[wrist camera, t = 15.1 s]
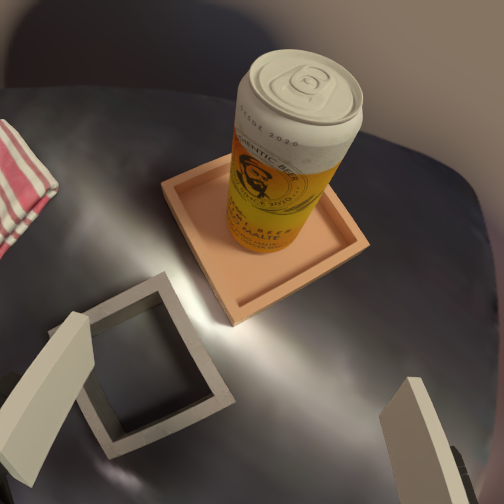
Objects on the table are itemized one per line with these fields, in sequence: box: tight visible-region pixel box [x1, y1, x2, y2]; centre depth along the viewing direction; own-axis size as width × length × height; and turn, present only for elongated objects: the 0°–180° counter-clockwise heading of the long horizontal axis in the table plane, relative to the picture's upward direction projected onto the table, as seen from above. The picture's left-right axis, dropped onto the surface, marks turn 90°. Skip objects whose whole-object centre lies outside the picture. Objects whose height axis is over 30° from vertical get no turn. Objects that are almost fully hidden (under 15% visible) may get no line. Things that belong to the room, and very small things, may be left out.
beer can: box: [226, 49, 363, 253], centre depth 20 cm, size 6×6×15 cm
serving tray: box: [161, 153, 370, 327], centre depth 26 cm, size 13×13×2 cm
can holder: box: [48, 271, 236, 460], centre depth 21 cm, size 10×10×4 cm
